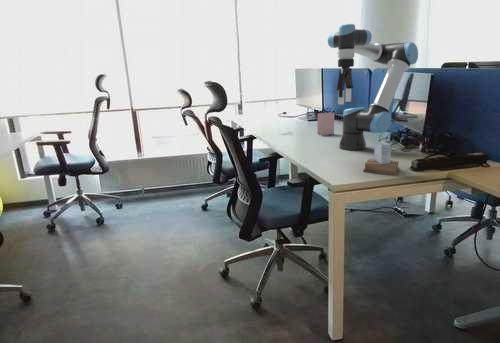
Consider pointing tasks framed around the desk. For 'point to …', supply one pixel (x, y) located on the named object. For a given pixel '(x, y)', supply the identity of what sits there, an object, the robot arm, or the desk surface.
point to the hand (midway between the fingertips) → (344, 102)
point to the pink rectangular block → (325, 123)
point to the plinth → (381, 167)
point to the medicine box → (382, 152)
